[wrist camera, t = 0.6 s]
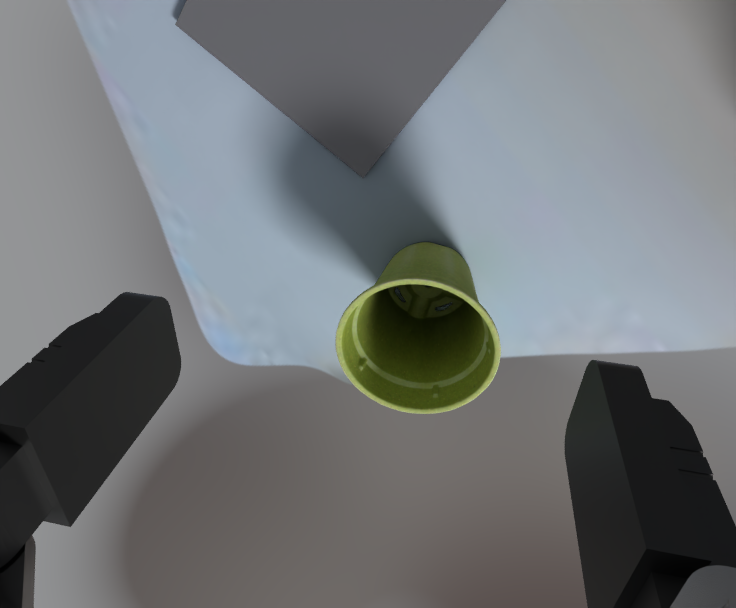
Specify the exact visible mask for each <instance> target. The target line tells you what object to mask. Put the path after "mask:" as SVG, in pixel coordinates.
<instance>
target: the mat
mask: <svg viewBox="0 0 736 608" xmlns="http://www.w3.org/2000/svg"><path fill="white" fill-rule="evenodd" d="M505 1H506V0H187V1H186V3H185V5H184V7H183V9H182V11H181V13H180V16H179V18H178V20H177V22H176V24H175V25H176V26H178V27H179V28H180V29H181V30H182V31H184V32H185V33H186V34H187V35H189V36H190V37H191V38H192V39H193V40H195V41H196V42H197V43H198V44H200V45H201V46H202V47H203V48H204V49H206V50H207V51H208V52H209V53H211V54H212V55H213V56H214V57H215V58H217V59H218V60H219V61H220V62H222V63H223V64H224V65H225V66H226V67H228V68H229V69H230V70H231V71H233V72H234V73H235V74H236V75H237V76H239V77H240V78H241V79H242V80H244V81H245V82H246V83H247V84H249V85H250V86H251V87H252V88H253V89H255V90H256V91H257V92H258V93H260V94H261V95H262V96H263V97H264V98H266V99H267V100H268V101H269V102H271V103H272V104H273V105H274V106H275V107H277V108H278V109H279V110H280V111H282V112H283V113H284V114H285V115H286V116H288V117H289V118H290V119H291V120H293V121H294V122H295V123H296V124H297V125H299V126H300V127H301V128H302V129H304V130H305V131H306V132H307V133H308V134H310V135H311V136H312V137H313V138H315V139H316V140H317V141H318V142H319V143H321V144H322V145H323V146H324V147H326V148H327V149H328V150H329V151H330V152H332V153H333V154H334V155H335V156H337V157H338V158H339V159H340V160H342V161H343V162H344V163H345V164H346V165H348V166H349V167H350V168H351V169H353V170H354V171H355V172H356V173H357V174H359V175H360V176H361V177H362V178H363V177H364V176H365V175H366V174H367V172H368V171H369V170H370V169H371V168H372V166H373V165H374V164H375V163H376V161H377V160H378V159H379V158H380V156H381V155H382V154H383V153H384V151H385V150H386V149H387V148H388V146H389V145H390V144H391V143H392V141H393V140H394V139H395V138H396V137H397V135H398V134H399V133H400V132H401V130H402V129H403V128H404V127H405V125H406V124H407V123H408V122H409V120H410V119H411V118H412V117H413V115H414V114H415V113H416V112H417V110H418V109H419V108H420V107H421V105H422V104H423V103H424V102H425V101H426V99H427V98H428V97H429V96H430V94H431V93H432V92H433V91H434V89H435V88H436V87H437V86H438V84H439V83H440V82H441V81H442V79H443V78H444V77H445V76H446V74H447V73H448V72H449V71H450V70H451V68H452V67H453V66H454V65H455V63H456V62H457V61H458V60H459V58H460V57H461V56H462V55H463V53H464V52H465V51H466V50H467V48H468V47H469V46H470V45H471V43H472V42H473V41H474V40H475V39H476V37H477V36H478V35H479V34H480V32H481V31H482V30H483V29H484V27H485V26H486V25H487V24H488V22H489V21H490V20H491V19H492V17H493V16H494V15H495V14H496V12H497V11H498V10H499V9H500V7H501V6H502V5H503V4H504V3H505Z"/></svg>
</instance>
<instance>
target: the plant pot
mask: <svg viewBox="0 0 736 608" xmlns="http://www.w3.org/2000/svg"><path fill="white" fill-rule="evenodd" d="M425 285H429V286H430V287H426V286H425ZM395 288H398V289H399V291H400V293H401V295H402V296H403V298H404V299H405V300H406V302H402V301H401V300H400V299H399V298H398V296H397V295H396V293H395ZM450 302H452V304H451V306H449V307H448V308H447V309H445V310H442V311H436V310H435V308H437V307H440V306H443V305H446V304H449V303H450ZM336 352H337V356H338V359H339V362H340V365H341V367H342V369H343V371H344V373H345V374H346V376H347V377H348V378H349V380H350V381H351V382H352V383H353V384H354V386H355V387H356V388H358V389H359V390H360V391H361V392H362V393H364V394H365V395H366V396H368V397H369V398H371V399H372V400H375V401H376V402H378V403H380V404H382V405H384V406H387V407H390V408H392V409H395V410H399V411H403V412H409V413H418V414H431V413H439V412H445V411H450V410H453V409H455V408H458V407H460V406H462V405H464V404H467V403H469V402H470V401H472V400H473V399H475V398H476V397H477V396H478V395H480V394H481V393H482V392H483V391H484V390H485V389H486V388H487V387H488V386H489V384H490V383H491V381H492V380H493V378H494V376H495V374H496V372H497V369H498V366H499V362H500V355H501V347H500V340H499V335H498V332H497V329H496V327H495V324H494V322H493V320H492V319H491V317H490V316H489V314H488V313H487V311H486V310H485V309H484V308H483V307H482V305H481V304H480V303H479V302H478V298H477V295H476V291H475V287H474V283H473V279H472V276H471V272H470V269H469V267H468V265H467V263H466V262H465V260H464V259H463V258H462V257H461V256H460V255H459V254H458V253H457V252H456V251H454V250H453V249H451V248H448V247H445V246H441V245H438V244H434V243H430V242H421V243H416V244H412V245H409V246H407V247H405V248H403V249H402V250H400V251H399V252H398V253H397V254H396V255H395V256H394V257H393V258H392V259H391V261H390V262H389V264H388V265H387V266H386V268H385V270H384V271H383V273H382V274H381V276H380V278H379V279H378V280H377V282H376V283H375V285H374V286H372V287H370V288H369V289H367V290H366V291H364V292H363V293H361V294H360V295H359V296H358V297H357V298H356V299H355V300H354V301H352V303H351V304H350V305H349V306H348V307H347V309H346V310H345V312H344V313H343V315H342V317H341V319H340V322H339V325H338V328H337V332H336Z"/></svg>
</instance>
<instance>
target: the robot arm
mask: <svg viewBox="0 0 736 608" xmlns="http://www.w3.org/2000/svg"><path fill="white" fill-rule="evenodd" d="M180 370H181V356H180V352H179V347H178V342H177V337H176V332H175V328H174V323H173V318H172V313H171V309H170V305H169V303H168V301H167V300H166V299H165V298H163V297H158V296H151V295H144V294H137V293H130V292H125V293H122V294H120V295H119V296H118V297H117V298H116V299H114V300H113V301H112V302H111V303H110V304H109V305H108V306H107V307H105V308H104V309H103V310H102V311H101V312H100V313H95V314H93V315H91V316H89V317H87V318H85V319H83V320H81V321H79V322H77V323H75V324H74V325H71V326H69V327H68V328H67V329H66V330H65V331H63V332H62V333H61V334H60V335H59V336H58V337H56V338H55V339H54V340H53V341H52V342H51V343H49V347H48V348H44V349H43V350H41V351H40V352H39V353H38V354H37V355H36V356H34V357H33V358H32V362H31V363H26V364H25V365H24V366H23V367H22V368H21V369H19V370H18V371H17V372H16V373H15V374H14V375H12V376H11V377H10V378H9V379H8V380H7V381H5V382H4V383H3V384H2V385H1V386H0V608H34V582H35V581H34V580H35V554H36V546H35V541H34V538H33V536H32V534H33V533H34V531H35V530H36V529H37V528H38V526H39V525H40V524H41V523H42V522H43V521H46V522H50V523H56V524H60V525H64V526H69V527H71V526H72V524H73V523H74V522H75V520H76V519H77V518H78V516H79V515H80V514H81V512H82V511H83V510H84V508H85V507H86V506H87V504H88V503H89V502H90V500H91V499H92V497H93V496H94V495H95V493H96V492H97V491H98V489H99V488H100V487H101V485H102V484H103V483H104V481H105V480H106V479H107V477H108V476H109V475H110V473H111V472H112V471H113V469H114V468H115V467H116V465H117V464H118V463H119V461H120V460H121V459H122V457H123V456H124V454H125V453H126V452H127V450H128V449H129V448H130V446H131V445H132V444H133V442H134V441H135V440H136V438H137V437H138V436H139V434H140V433H141V432H142V430H143V429H144V428H145V426H146V425H147V424H148V422H149V421H150V420H151V418H152V417H153V416H154V414H155V413H156V412H157V410H158V409H159V407H160V406H161V405H162V403H163V402H164V401H165V400H166V398H167V397H168V395H169V394H170V393H171V391H172V390H173V389H174V387H175V385H176V383H177V381H178V378H179V375H180ZM565 459H566V465H567V472H568V479H569V485H570V492H571V499H572V506H573V512H574V519H575V525H576V532H577V539H578V546H579V552H580V559H581V565H582V572H583V579H584V585H585V592H586V599H587V605H588V608H736V526H735V524H734V521H733V519H732V517H731V515H730V512H729V510H728V508H727V505H726V503H725V501H724V498H723V496H722V494H721V491H720V489H719V487H718V485H717V482H716V481H715V480H713V473H712V471H711V469H710V466H709V464H708V462H707V459H706V457H703V450H702V448H701V445H700V443H699V441H698V438H697V436H696V434H695V432H694V429H693V427H692V425H691V424H690V423H689V422H688V421H687V420H686V419H685V418H684V416H683V415H681V413H680V412H679V411H678V410H677V409H676V408H675V407H674V406H673V405H672V404H671V403H670V402H669V401H667V400H660V399H653V398H652V397H651V395H650V392H649V389H648V387H647V384H646V381H645V379H644V376H643V373H642V371H641V369H640V368H639V367H638V366H632V365H625V364H618V363H611V362H604V361H597V360H592V361H590V363H589V364H588V366H587V368H586V371H585V373H584V376H583V379H582V382H581V385H580V388H579V391H578V394H577V397H576V400H575V402H574V406H573V409H572V411H571V414H570V417H569V420H568V423H567V428H566V435H565Z"/></svg>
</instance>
